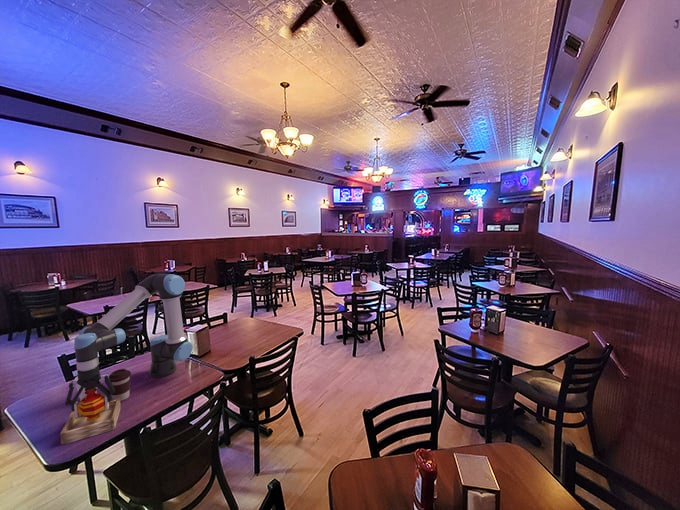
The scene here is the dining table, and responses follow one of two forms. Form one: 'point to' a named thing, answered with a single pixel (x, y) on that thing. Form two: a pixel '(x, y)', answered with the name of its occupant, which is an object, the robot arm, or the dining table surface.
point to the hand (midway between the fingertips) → (92, 412)
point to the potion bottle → (91, 404)
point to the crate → (90, 424)
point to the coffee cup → (120, 384)
